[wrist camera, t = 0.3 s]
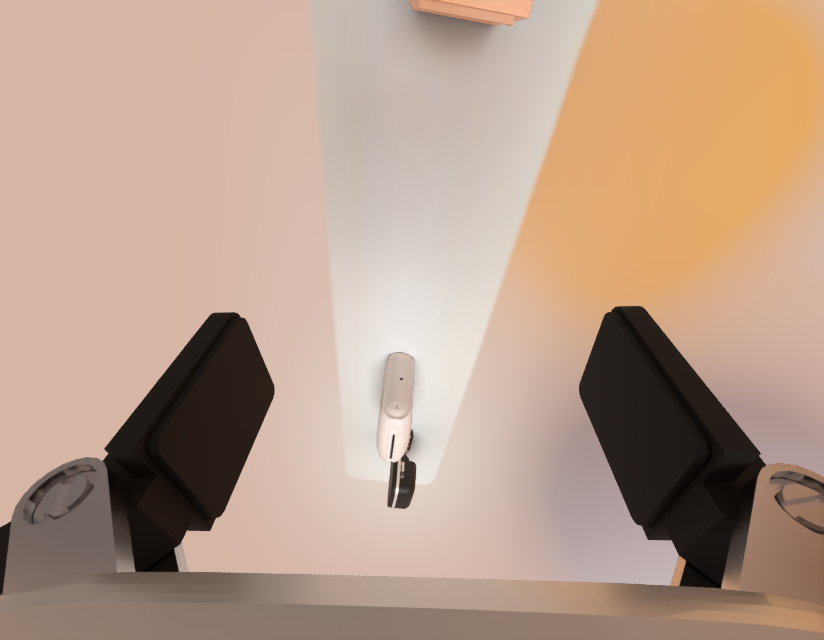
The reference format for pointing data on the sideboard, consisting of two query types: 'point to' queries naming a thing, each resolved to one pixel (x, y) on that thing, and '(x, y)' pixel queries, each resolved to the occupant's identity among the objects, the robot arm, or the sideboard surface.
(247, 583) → the robot arm
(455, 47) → the sideboard surface
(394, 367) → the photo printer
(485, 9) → the side door
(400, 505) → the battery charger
